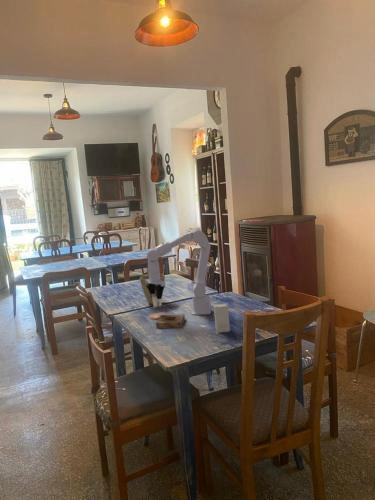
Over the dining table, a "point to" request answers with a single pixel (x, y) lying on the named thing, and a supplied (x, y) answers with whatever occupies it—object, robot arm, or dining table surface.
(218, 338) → the dining table surface
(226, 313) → the skincare box
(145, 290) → the plant pot
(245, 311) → the dining table surface
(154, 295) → the end cover
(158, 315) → the dish
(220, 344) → the dining table surface
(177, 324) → the housing
